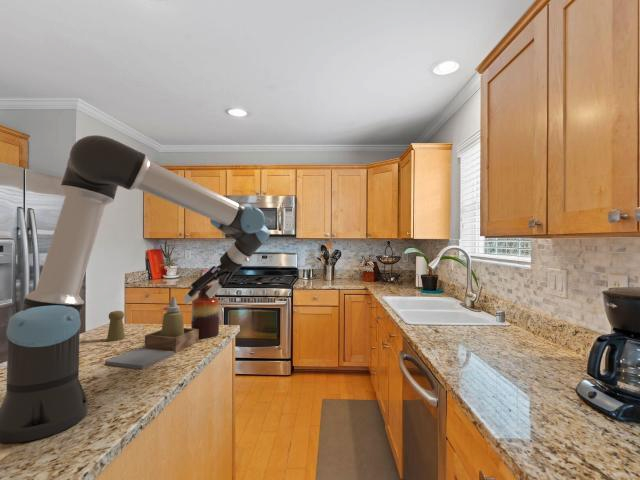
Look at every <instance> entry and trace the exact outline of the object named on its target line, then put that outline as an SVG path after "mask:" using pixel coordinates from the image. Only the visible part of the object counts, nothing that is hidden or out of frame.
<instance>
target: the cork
mask: <svg viewBox="0 0 640 480" xmlns="http://www.w3.org/2000/svg"><path fill="white" fill-rule="evenodd" d="M124 317H125V313H124V312H123V311H122V310H113V311H111V312H110V313H109V314H108V319H109V324H108V325H109V326H108V332H107V337H106V342H119V341H123V340H125V339H126V336H125V330H124V329H125V328H124V323H123V321H124V320H123V319H124ZM124 338H125V339H124ZM122 339H123V340H122ZM118 340H119V341H118Z"/></svg>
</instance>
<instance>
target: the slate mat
mask: <svg viewBox="0 0 640 480" xmlns="http://www.w3.org/2000/svg"><path fill="white" fill-rule="evenodd" d="M174 355H175V353H174V351H166V350H157V349H147V348H145V347H139V348H136V349H133V350H131V351H128V352H126V353H123V354H120V355H117V356H116V357H112V358H109V359H108V360H105V361H104V365H105V366H106V365H108V366H115V367H121V368H123V367H124V368H129V369H130V368H131V369H137V370H138V369H140V370H143V369H146V368H149V366H152V365H154V364H156V363H159V362H161V361H162V360H165V359H167V358H170V357H171V356H174Z"/></svg>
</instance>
